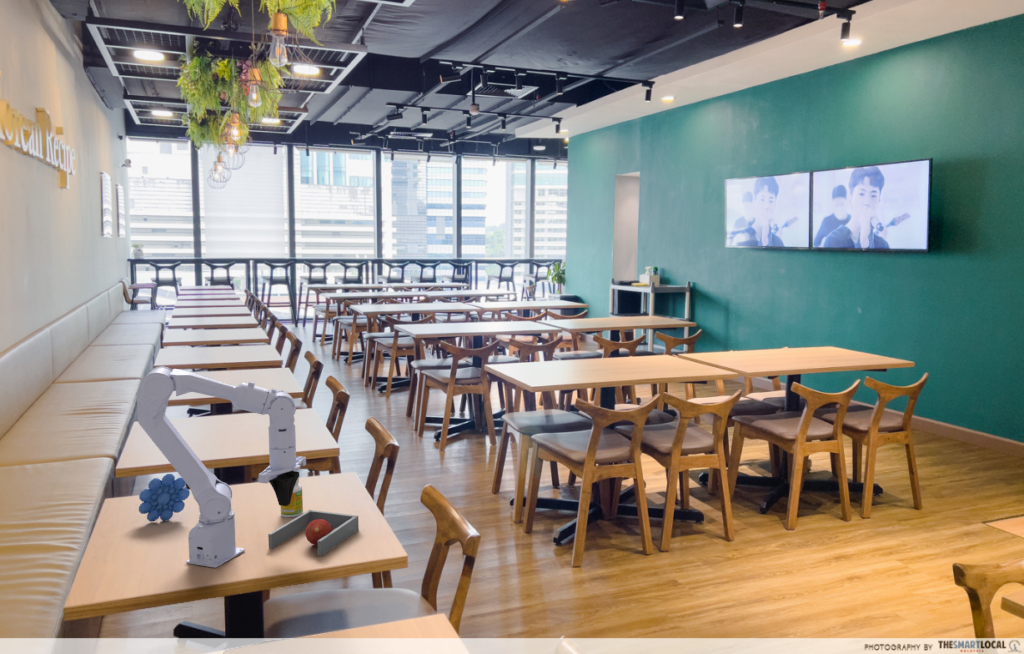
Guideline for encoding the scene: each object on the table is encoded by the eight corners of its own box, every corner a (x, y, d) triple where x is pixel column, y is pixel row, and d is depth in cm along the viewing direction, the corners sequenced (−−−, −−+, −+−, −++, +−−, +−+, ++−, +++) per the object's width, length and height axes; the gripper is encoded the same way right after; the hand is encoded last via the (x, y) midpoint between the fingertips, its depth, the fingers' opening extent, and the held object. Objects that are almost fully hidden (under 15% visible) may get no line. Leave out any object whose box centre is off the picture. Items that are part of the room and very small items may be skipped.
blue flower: (191, 512, 183) (189, 467, 182) (190, 521, 177) (188, 474, 176) (141, 518, 179) (139, 472, 178) (138, 527, 173) (135, 479, 171)
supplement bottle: (299, 518, 179) (297, 480, 178) (277, 517, 179) (276, 480, 178) (305, 510, 184) (304, 474, 183) (285, 510, 184) (283, 474, 183)
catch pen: (321, 556, 156) (320, 541, 155) (268, 548, 160) (268, 534, 160) (358, 529, 171) (358, 515, 171) (310, 523, 175) (309, 509, 175)
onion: (310, 549, 157) (314, 551, 164) (334, 535, 158) (337, 538, 166) (299, 525, 158) (303, 529, 165) (323, 512, 160) (326, 516, 167)
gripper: (277, 456, 151) (279, 517, 152) (316, 439, 164) (318, 496, 166) (249, 453, 153) (252, 514, 154) (290, 437, 167) (292, 493, 168)
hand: (284, 504), depth 160 cm, fingers closed
